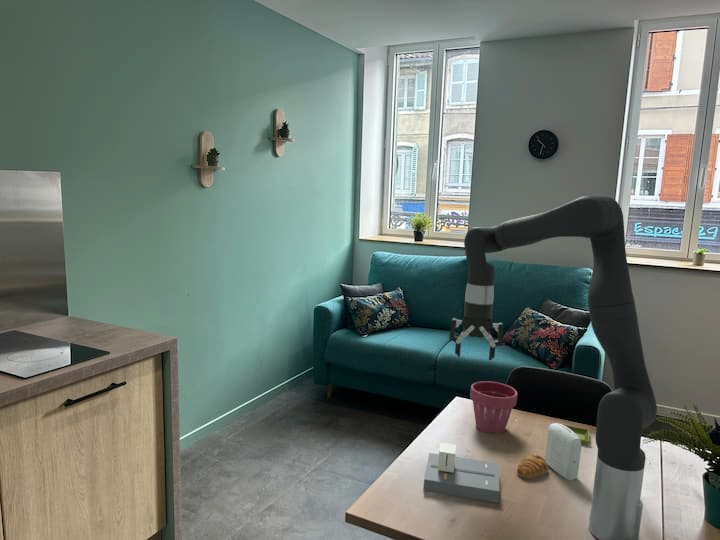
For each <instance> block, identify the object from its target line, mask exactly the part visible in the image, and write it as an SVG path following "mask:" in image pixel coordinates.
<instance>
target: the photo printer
mask: <svg viewBox="0 0 720 540" xmlns="http://www.w3.org/2000/svg"><path fill="white" fill-rule="evenodd" d="M564 425H565V424H563V425H562V424H561V423H557V422H555V423H551V424H549V427H548V430H547V438H546V443H545V445H546V446H545V454H544V459H545V461H546V463H547V465H548V467H549V468H551V469H552V470H554V471H555V472H556V473H557V474H559V475H560V477H562V478H563V479H565V480H569V481H574V480H576V478H578V474H579V470H580V469H579V467H580V460H581V453H582V443H581V440H580V439H579V437H578V436H577V435H576V434H575V433H574V432H573V431H572V430H571V429H569V428H568V427H566V426H564Z"/></svg>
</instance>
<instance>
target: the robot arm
mask: <svg viewBox="0 0 720 540" xmlns="http://www.w3.org/2000/svg"><path fill="white" fill-rule="evenodd" d="M624 220H625V219H624V214H623V210H622V208H621V206H620V204H619V202H617V201H616V199H614V198H613V197H611V196H609V195H608V196H606V195H584V196H580V197H578V198H576V199H574V200H571V201H568V202H566V203H565V204H562V205H560V206H558V207H555V208H552V209H550V210H548V211H545V212H542V213H538V214H533V215H528V216H523V217H518V218H514V219H510V220H507V221H504V222H501V223H499V224H498V225H495V226H475V227H471V228H470V229H469V230H468V231H467V232H466V235H465V236H464V241H463V244H464V251H465V252H464V253H465V258H466V263H467V268H468V270H467V271H468V272H467V280H466V281H467V283H466V288H465V295H464V307H463V318H462V319H457V317H456V318H455V317H453V318H452V319H451V324H450V333H449V337H448V338H449V339H448V340H449V341H452V342H454V343H455V348H454V353H455V355H457V358H460V357H461V347H462V342H463V340H464V339H466V338H467V337H468V336H469V337H470V338H475V337H477V338H481V339H482V338H485V339H486V341H487V342H488V343H489V344H490V345H489V350H488V351H489V353H488V361H492V360H493V359H495V355H496V354H495V353H496V348H497V347H502V346H503V344H504V343H503V342H504V340H503V339H504V323H503V322H498V323H496V322H494V323H493V321H492V320H493V307H494V299H495V298H494V295H495V290H494V288H495V287H494V284H495V275H496V274H495V273H496V270H495V269H496V267H495V265H494V264H493V263H491V262H488V261H487V257H486V256H487V255H486V254H489V253H490V254H493V253H497V252H498V253H499V252H502V251H505V250H508V249H515V248H521V247H525V246H529V245H533V244H536V243H540V242H542V241H544V240H548V239H552V238H559V237H560V238H561V237H562V238H564V237H565V238H566V237H567V238H568V237H569V238H570V237H571V238H573V237H577V238H584V239H585V238H586V239H589V241H590V245H591V251H592V257H593V268H592V272H591V273H592V274H591V276H590V280H589V281H590V282H589V286H588V291H587V292H588V293H587V305H588V306H587V307H588V312H589V313H588V314H589V318H590V323H591V327H592V331H593V334H594V335H595V338H596V339H597V341H598V343H599V345H600V346H601V349H603V351H604V353H605V355H606V357H607V358H608V361H609V364H610V366H611V367H610V368H611V373H612V378H613V379H612V380H613V390H611V391H609V392H608V393H606V394H605V395H603V397H602V398H600V401H599V403H598V406H597V407H598V408H597V414H596V415H597V416H596V425H595V426H596V428H595V445H596V447H597V456H596V463H595V473H594V481H593V490H592V498H591V505H590V506H591V507H590V514H589V521H588V522H589V523H588V530H589V532H590V533H591V534H592V535H593V536H594V537H595V538H596V539H598V540H639V537H640V530H641V523H642V516H643V508H644V504H643V502H642V500H641V495H642V489H643V481H644V473H645V465H646V458H647V457H646V456H647V455H646V453H645V451H644V450H643V449H642V448H641V442H642V433H643V430H644V429H646V428H648V427H650V426H651V425H652V424H654V422H655V420H656V419H657V418H656V417H657V414H658V405H657V400H656V397H655V394H654V391H653V387H652V384H651V381H650V377H649V373H648V370H647V366H646V363H645V362H646V361H645V357H644V351H643V344H642V338H641V333H640V328H639V319H638V313H637V308H636V307H637V306H636V302H635V297H634V294H633V288H632V282H631V277H630V275H631V274H630V270H629V265H628V261H627V250H626V241H625V240H626V238H625V237H626V236H625V221H624ZM460 325H461V326H462V328H463V331H461V332H460V334H459V335H458V336H456V335H455V333H456V328H459V326H460ZM493 328H494V330H495V331H496V332H497V340H494V338H493V336H492V335H491V332H490V331H491V330H492V329H493Z"/></svg>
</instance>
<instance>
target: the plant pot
mask: <svg viewBox="0 0 720 540" xmlns="http://www.w3.org/2000/svg"><path fill="white" fill-rule="evenodd" d="M470 386H471V387H470V393H469V395H470V396H469V397H470V399H471V401H472V406H473V412H474V421H475V427H476V428H477V429H478V430H480V431H482V432H485V433H487V434H489V433H490V434H501V433H503V432H505V430H506V428H507V425H508V422H509V419H510V416H511V413H512V411H513V408H514V407H516V406H517V402H518V391H517V390H516V389H515V388H514V387H512V386H510V385H508V384H505V383H501V382H497V381H487V380H486V381H477V382H474V383H472V384H471V385H470Z"/></svg>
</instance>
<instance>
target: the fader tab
mask: <svg viewBox="0 0 720 540" xmlns="http://www.w3.org/2000/svg"><path fill="white" fill-rule="evenodd" d="M456 453H457V444H452V443H447V442H440V443H439V451H438V454H439V462H438V470H440V471H446V472H453V473H454V467H455V457H456Z"/></svg>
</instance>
